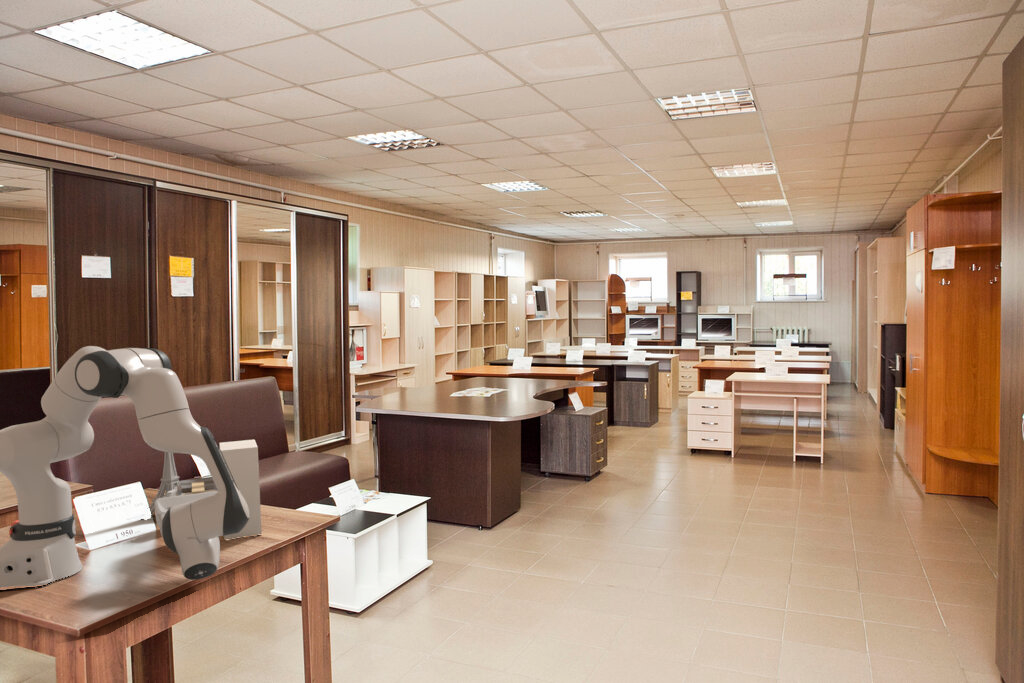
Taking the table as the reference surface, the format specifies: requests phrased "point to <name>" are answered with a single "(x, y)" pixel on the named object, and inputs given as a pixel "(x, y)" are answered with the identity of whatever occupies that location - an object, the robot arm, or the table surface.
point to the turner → (197, 485)
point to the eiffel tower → (167, 479)
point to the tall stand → (245, 480)
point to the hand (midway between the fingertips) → (198, 485)
